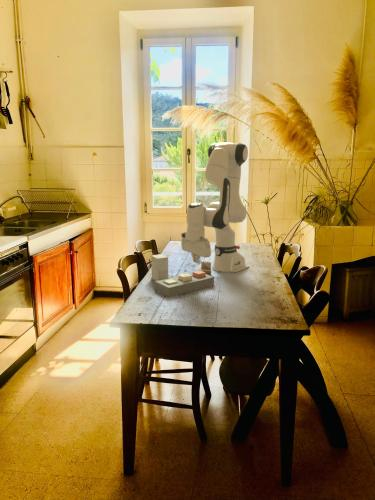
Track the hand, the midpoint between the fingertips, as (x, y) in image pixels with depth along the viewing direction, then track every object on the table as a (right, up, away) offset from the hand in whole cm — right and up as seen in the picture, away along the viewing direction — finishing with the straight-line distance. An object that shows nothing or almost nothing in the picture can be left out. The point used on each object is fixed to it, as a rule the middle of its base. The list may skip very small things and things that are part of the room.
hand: (196, 262), depth 199 cm
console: (-6, -13, -2) cm, 14 cm away
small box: (-19, -10, +11) cm, 24 cm away
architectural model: (+6, -8, +21) cm, 23 cm away
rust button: (+2, -9, +3) cm, 10 cm away
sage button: (-13, -13, -7) cm, 20 cm away
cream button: (-6, -10, -2) cm, 12 cm away
